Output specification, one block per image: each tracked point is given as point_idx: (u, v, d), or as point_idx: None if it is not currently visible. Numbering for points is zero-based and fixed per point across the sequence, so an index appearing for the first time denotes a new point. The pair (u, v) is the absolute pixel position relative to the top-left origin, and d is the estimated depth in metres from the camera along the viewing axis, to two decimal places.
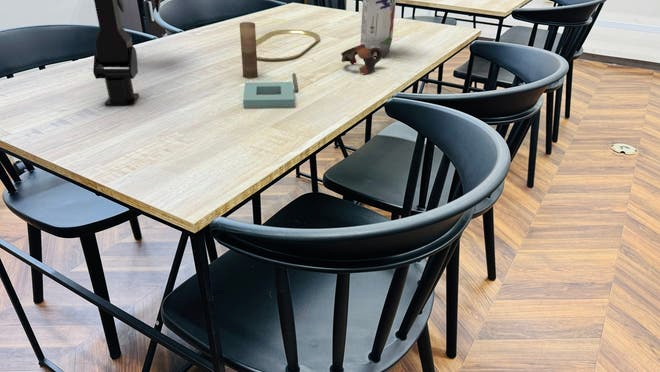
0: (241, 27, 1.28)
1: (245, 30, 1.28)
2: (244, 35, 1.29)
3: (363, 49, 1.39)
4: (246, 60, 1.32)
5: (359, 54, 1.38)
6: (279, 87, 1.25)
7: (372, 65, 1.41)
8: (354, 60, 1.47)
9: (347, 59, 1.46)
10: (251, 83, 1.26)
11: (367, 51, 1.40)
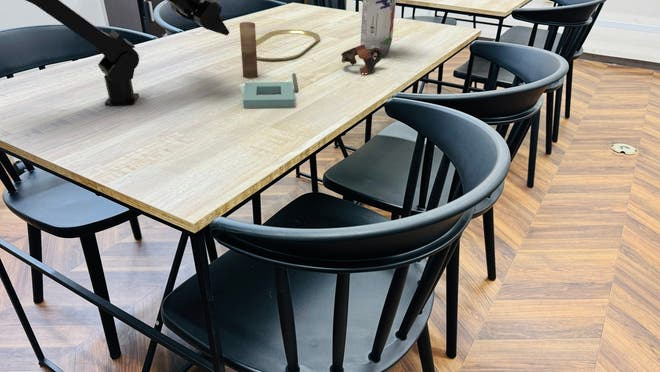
0: (241, 27, 1.28)
1: (245, 30, 1.28)
2: (244, 35, 1.29)
3: (363, 49, 1.39)
4: (246, 60, 1.32)
5: (359, 54, 1.38)
6: (279, 87, 1.25)
7: (372, 65, 1.41)
8: (354, 60, 1.46)
9: (347, 59, 1.45)
10: (251, 83, 1.26)
11: (367, 51, 1.39)
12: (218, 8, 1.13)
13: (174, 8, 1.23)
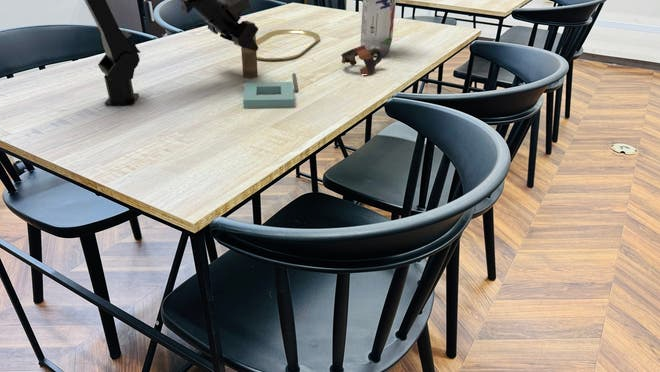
0: None
1: None
2: None
3: (363, 50, 1.38)
4: (246, 60, 1.32)
5: (359, 55, 1.37)
6: (279, 87, 1.25)
7: (372, 66, 1.40)
8: (354, 61, 1.46)
9: (347, 60, 1.45)
10: (251, 83, 1.26)
11: (367, 52, 1.39)
12: (255, 29, 1.21)
13: (211, 27, 1.31)
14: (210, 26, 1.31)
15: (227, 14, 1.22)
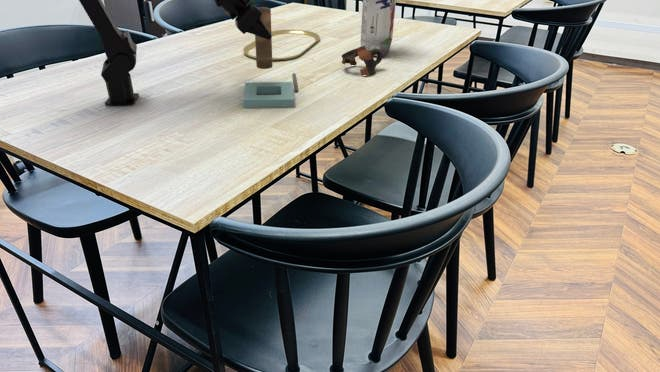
0: None
1: None
2: None
3: (364, 51, 1.38)
4: (258, 49, 1.21)
5: (360, 56, 1.37)
6: (279, 87, 1.25)
7: (373, 67, 1.39)
8: (354, 62, 1.45)
9: (347, 61, 1.44)
10: (251, 83, 1.26)
11: (368, 53, 1.38)
12: (257, 14, 1.09)
13: None
14: None
15: None
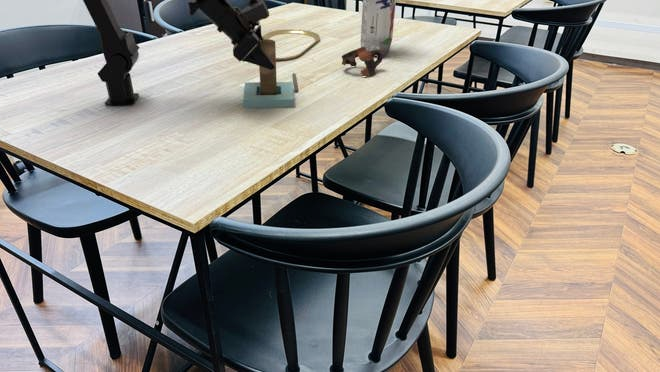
0: None
1: None
2: None
3: (364, 52, 1.37)
4: (262, 81, 1.19)
5: (360, 57, 1.36)
6: (279, 87, 1.25)
7: (373, 68, 1.39)
8: (354, 63, 1.45)
9: (347, 62, 1.43)
10: (251, 83, 1.26)
11: (368, 54, 1.38)
12: (253, 42, 1.06)
13: None
14: None
15: (235, 22, 1.10)
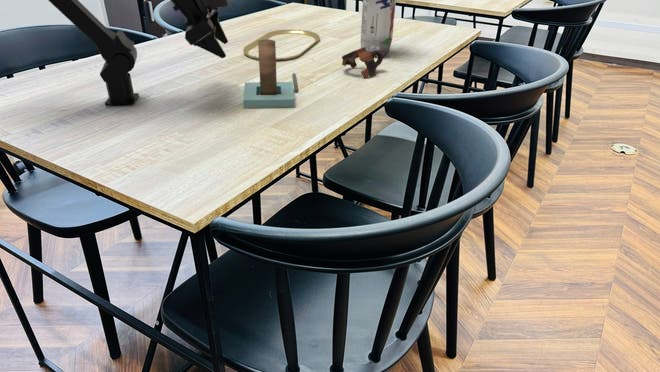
0: (258, 44, 1.15)
1: (260, 48, 1.15)
2: (260, 54, 1.16)
3: (364, 52, 1.37)
4: (262, 81, 1.19)
5: (360, 57, 1.36)
6: (279, 87, 1.25)
7: (373, 68, 1.38)
8: (354, 63, 1.44)
9: (347, 62, 1.43)
10: (251, 83, 1.26)
11: (368, 54, 1.37)
12: (207, 29, 1.06)
13: None
14: None
15: (193, 4, 1.09)
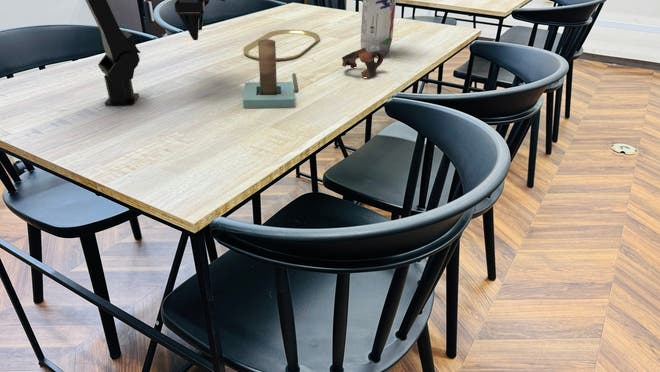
0: (258, 44, 1.15)
1: (260, 48, 1.15)
2: (260, 54, 1.16)
3: (365, 53, 1.36)
4: (262, 81, 1.19)
5: (361, 58, 1.35)
6: (279, 87, 1.25)
7: (374, 69, 1.38)
8: (354, 64, 1.44)
9: (347, 63, 1.42)
10: (251, 83, 1.26)
11: (369, 55, 1.37)
12: (199, 9, 1.11)
13: None
14: None
15: None
